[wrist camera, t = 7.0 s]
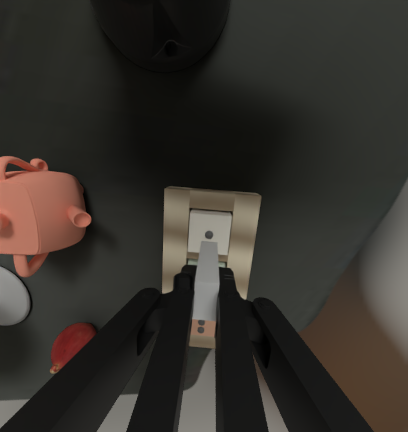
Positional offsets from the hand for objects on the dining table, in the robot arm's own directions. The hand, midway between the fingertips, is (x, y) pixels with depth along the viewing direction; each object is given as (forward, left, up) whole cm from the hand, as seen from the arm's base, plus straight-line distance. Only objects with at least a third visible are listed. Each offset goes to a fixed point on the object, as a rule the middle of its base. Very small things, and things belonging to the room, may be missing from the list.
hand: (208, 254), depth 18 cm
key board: (+6, +3, -10) cm, 12 cm away
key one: (0, 0, -8) cm, 8 cm away
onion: (+27, -7, -10) cm, 30 cm away
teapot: (+10, -19, -10) cm, 23 cm away
